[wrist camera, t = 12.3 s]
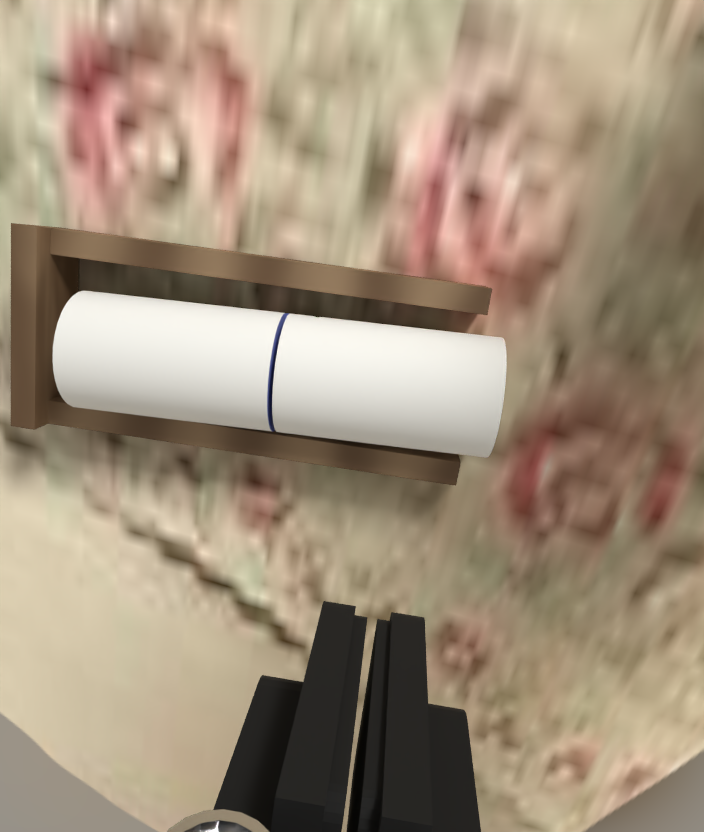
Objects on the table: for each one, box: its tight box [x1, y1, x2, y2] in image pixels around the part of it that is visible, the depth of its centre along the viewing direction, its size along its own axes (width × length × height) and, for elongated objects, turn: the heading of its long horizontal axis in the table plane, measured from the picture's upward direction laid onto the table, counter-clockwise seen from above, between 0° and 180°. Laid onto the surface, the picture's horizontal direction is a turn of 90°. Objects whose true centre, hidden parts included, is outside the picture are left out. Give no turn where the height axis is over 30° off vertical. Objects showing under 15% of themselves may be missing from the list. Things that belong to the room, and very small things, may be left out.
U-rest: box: [11, 223, 492, 485], centre depth 40 cm, size 28×12×5 cm, turn 82°
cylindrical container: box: [53, 291, 507, 458], centre depth 39 cm, size 7×7×25 cm
